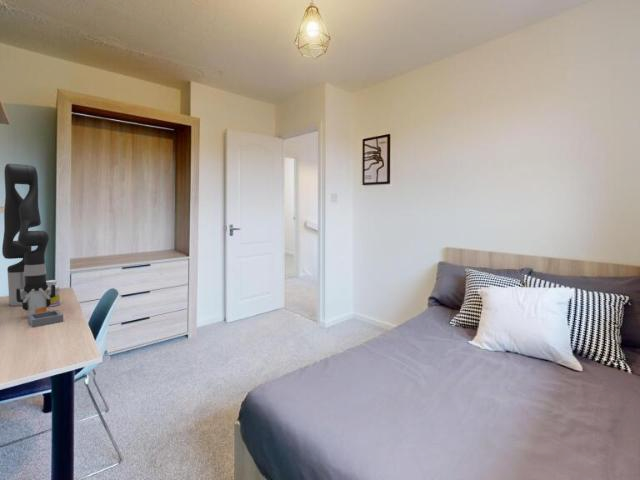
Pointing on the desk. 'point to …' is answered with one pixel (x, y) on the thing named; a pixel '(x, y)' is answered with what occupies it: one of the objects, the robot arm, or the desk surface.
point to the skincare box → (36, 303)
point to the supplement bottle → (56, 299)
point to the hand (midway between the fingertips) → (36, 308)
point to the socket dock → (45, 318)
